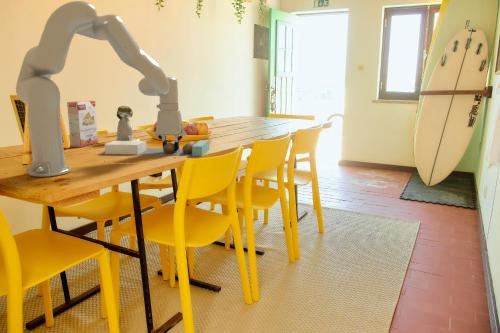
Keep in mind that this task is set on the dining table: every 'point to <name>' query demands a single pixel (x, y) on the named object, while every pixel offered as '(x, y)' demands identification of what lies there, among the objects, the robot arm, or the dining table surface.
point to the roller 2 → (188, 147)
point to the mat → (156, 152)
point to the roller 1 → (169, 147)
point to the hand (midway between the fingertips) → (171, 150)
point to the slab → (125, 147)
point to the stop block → (200, 148)
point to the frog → (125, 124)
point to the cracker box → (82, 123)
